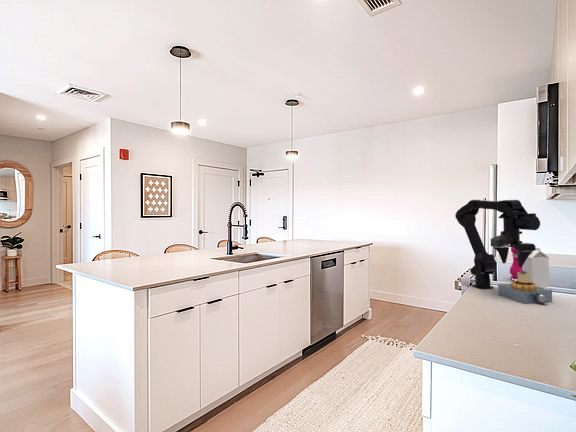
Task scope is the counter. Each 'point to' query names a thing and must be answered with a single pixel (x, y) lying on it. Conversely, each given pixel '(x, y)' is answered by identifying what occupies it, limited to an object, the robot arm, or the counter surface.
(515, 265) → the pepper mill
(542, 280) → the milk carton
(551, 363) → the counter surface
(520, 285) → the gearbox
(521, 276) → the beige cylinder
